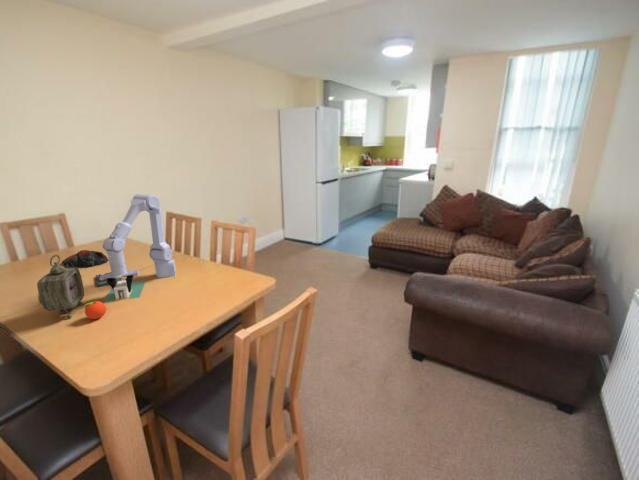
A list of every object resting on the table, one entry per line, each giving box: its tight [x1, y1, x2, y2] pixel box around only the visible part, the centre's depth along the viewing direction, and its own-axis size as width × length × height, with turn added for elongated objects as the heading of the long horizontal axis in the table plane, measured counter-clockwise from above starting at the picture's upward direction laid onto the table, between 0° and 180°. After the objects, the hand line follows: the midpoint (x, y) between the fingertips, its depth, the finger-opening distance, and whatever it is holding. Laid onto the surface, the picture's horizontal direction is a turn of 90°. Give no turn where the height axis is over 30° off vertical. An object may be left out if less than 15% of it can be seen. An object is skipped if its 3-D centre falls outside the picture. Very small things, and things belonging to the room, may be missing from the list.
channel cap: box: [114, 279, 130, 299], centre depth 140 cm, size 5×8×5 cm, turn 21°
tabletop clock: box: [36, 254, 85, 319], centre depth 125 cm, size 14×9×25 cm, turn 17°
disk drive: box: [95, 272, 123, 288], centre depth 157 cm, size 10×3×15 cm
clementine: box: [81, 300, 107, 320], centre depth 123 cm, size 8×7×7 cm
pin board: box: [102, 280, 146, 304], centre depth 145 cm, size 14×19×4 cm
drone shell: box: [61, 249, 109, 269], centre depth 180 cm, size 21×20×8 cm
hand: (123, 292), depth 141 cm, fingers closed on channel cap, 5 cm apart
